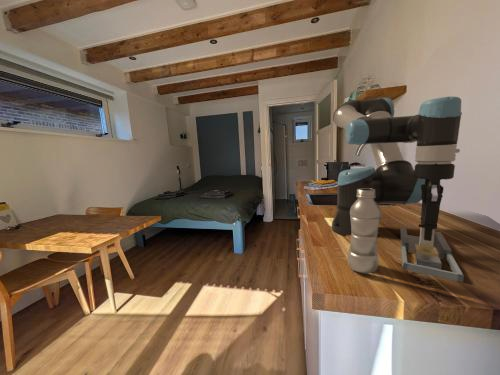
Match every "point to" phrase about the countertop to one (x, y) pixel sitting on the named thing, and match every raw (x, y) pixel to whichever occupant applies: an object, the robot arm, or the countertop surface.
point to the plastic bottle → (364, 232)
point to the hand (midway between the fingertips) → (425, 249)
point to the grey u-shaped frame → (454, 275)
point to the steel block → (428, 260)
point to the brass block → (425, 249)
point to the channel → (412, 240)
